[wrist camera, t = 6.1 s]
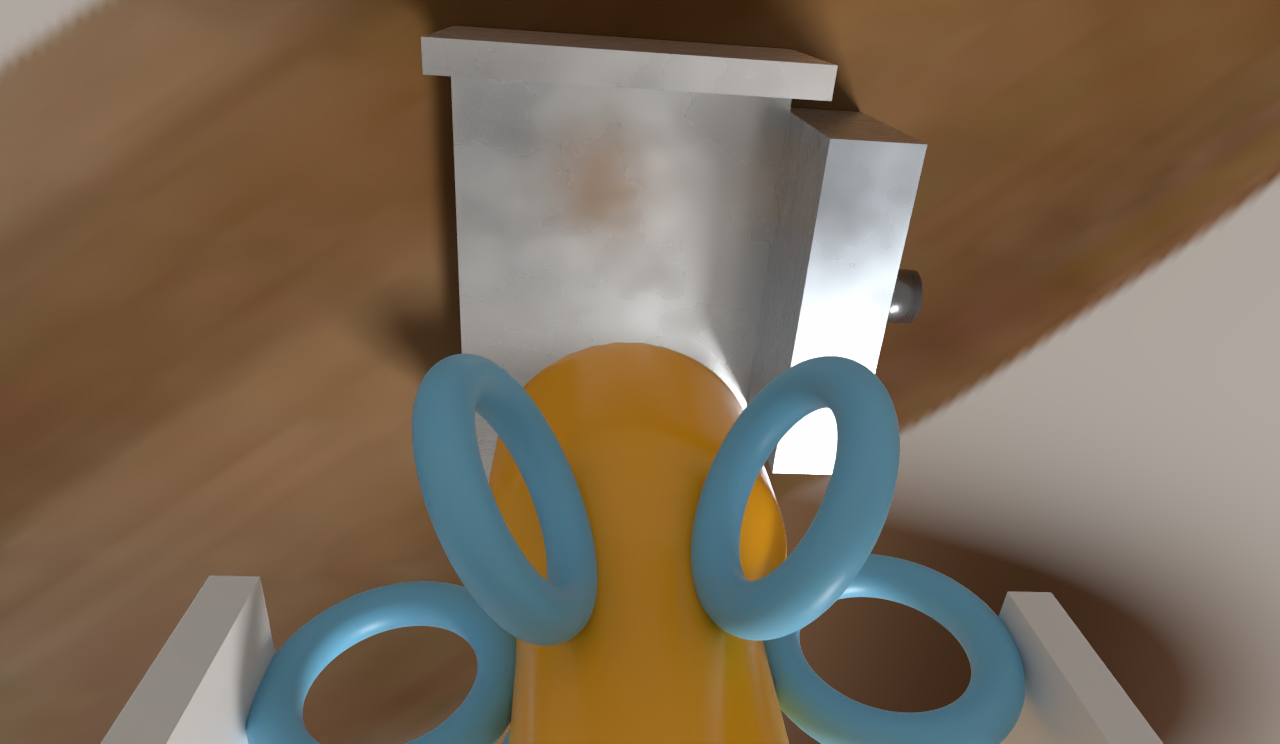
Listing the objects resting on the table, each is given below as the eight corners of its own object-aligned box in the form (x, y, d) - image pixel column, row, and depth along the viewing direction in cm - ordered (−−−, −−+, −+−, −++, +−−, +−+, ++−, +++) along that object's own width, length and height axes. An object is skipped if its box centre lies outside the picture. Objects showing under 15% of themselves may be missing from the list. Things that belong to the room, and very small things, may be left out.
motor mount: (468, 420, 34) (443, 509, 28) (454, 25, 27) (417, 37, 21) (843, 431, 36) (892, 519, 30) (924, 58, 28) (1009, 78, 23)
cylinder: (548, 100, 15) (170, 1251, 1) (954, 343, 18) (2094, 1473, 4) (316, 547, 19) (-308, 1853, 6) (671, 683, 22) (802, 1762, 9)
